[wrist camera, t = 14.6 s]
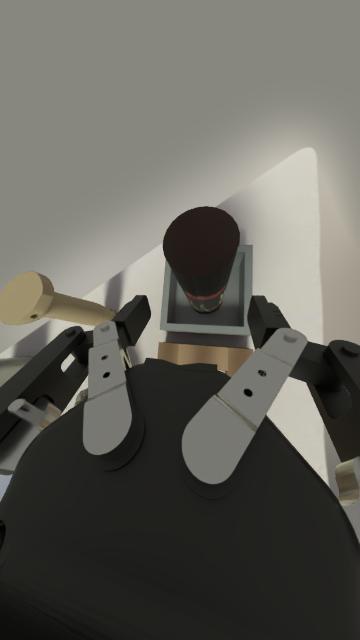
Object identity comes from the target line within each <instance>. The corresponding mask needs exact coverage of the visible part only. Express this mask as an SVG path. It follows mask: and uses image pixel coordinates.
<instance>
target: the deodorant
mask: <svg viewBox="0 0 360 640" xmlns="http://www.w3.org/2000/svg"><path fill="white" fill-rule="evenodd" d="M239 241H240V232H239V229H238V225H237V223H236V222H235V220H234V219H233V218H232V216H230V215H229V214H228V213H227V212H225V211H223V210H221V209H218V208H215V207H207V206H206V207H197V208H194V209H191V210H188V211H186V212H184V213H183V214H181V215H179V216H178V217H177V218H176V219H175V220H174V221H173V222H172V223H171V225H170V226H169V228H168V229H167V231H166V234H165V236H164V240H163V251H164V256H165V258H166V260H167V262H168V264H169V266H170V268H171V269H172V271H173V273H174V275H175V277H176V279H177V281H178V283H179V284H180V286H181V288H182V290H183V292H184V294H185V296H186V298H187V300H188V301H189V303H190V305H191V307H192V308H193V309H194V310H195V311H196V312H198V313H201V314H210V313H213V312H215V311H216V310H217V309H219V307H220V306H221V304H222V302H223V298H224V295H225V291H226V288H227V284H228V281H229V277H230V274H231V270H232V267H233V263H234V260H235V256H236V253H237V250H238V246H239Z"/></svg>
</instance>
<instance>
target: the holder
mask: <svg viewBox="0 0 360 640" xmlns="http://www.w3.org/2000/svg"><path fill="white" fill-rule="evenodd" d="M252 353H253V349H248V348H235V347H222V346H209V345H195V344H182V343H169V342H159V348H158V359H163V360H166V361H169V362H172V363H174V364H177V365H184V364H192V363H207V364H217V370H222V371H225V374H227V375H229V376H230V377H233V375H234V374H235V373H236V372H237V371H238V370H239V368H240V367H241V366H242V365H243V364H244V363H245V362H246V360H247V359H248V358H249V357H250V356H251V355H252Z"/></svg>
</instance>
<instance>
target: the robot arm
mask: <svg viewBox="0 0 360 640" xmlns="http://www.w3.org/2000/svg"><path fill="white" fill-rule="evenodd" d="M150 317H151V310H150V306H149V302H148V298H147V296H146V295H136V296H135V297H134V299H133V300H132V301H130V302H128V303H127V304H125V306H124V307H123V308H122V309H121V310H120V312H118V313H117V314H116V316H115V317H114V318H113V319H112V320H111V321H105V322H102V323H100V324H98V325H97V326H96V327H95V328H94V330H91V331H86V332H84V330H83V329H82V327H80V326H74V327H70V328H68V329H66V330H64V331H63V332H61V333H60V334H59V335H58V336H57V337H56V338H55V339H54V340H53V341H51V342H50V343H49V344H48V345H47V346H46V347H45V348H44V349H42V350H41V351H40V352H39V353H38V354H37V355H36V356H35V357H33V358H32V357H18V358H7V359H0V474H1V475H11V474H13V476H12V478H11V480H10V483H9V485H8V487H7V489H6V492H5V494H4V496H3V498H2V500H1V502H0V640H360V346H359V345H357V344H355V343H352V342H348V341H344V340H334V341H331V342H330V343H329V345H328V346H324V345H321V344H316V343H312V342H309V341H308V340H307V338H306V336H305V335H303V334H302V333H301V332H299V331H297V330H294V329H291V327H290V326H289V324H288V322H287V321H286V319H285V318H284V316H283V314H282V313H281V311H280V309H279V308H278V307H277V306H276V305H275V304H273V303H268V302H267V300H266V298H265V296H252V297H251V300H250V305H249V309H248V314H247V322H248V326H249V329H250V333H251V336H252V340H253V344H254V347H255V351H254V352H253V353H252V355H251V356H250V357H249V358H248V359H247V360H246V362H245V363H244V364H243V365H242V366H241V367H240V368H239V370H238V371H237V372H236V373H235V374H234V375H233V377H230V376H229V375H227V374H225V373H223V372H221V371H218V370H217V364H207V363H192V364H184V365H177V364H174V363H172V362H169V361H166V360H163V359H153V358H146V360H145V362H144V363H143V364H139V365H136V366H133V367H132V365H131V361H130V357H129V354H128V351H127V347H128V346H135V344H136V343H137V341H138V339H139V337H140V335H141V334H142V332H143V330H144V328H145V327H146V325H147V323H148V321H149V320H150ZM70 353H71V354H72V355H73V356H74V358H75V360H74V361H73V362H72V363H71V365H70V366H69V367H68V368H67V369H66V371H65V372H63V371H62V370H61V364H62V362H63V361H64V360H65V359H66V358H67V357H68V356H69V354H70ZM88 374H89V375H88ZM87 376H88V397H87V398H86V399H85V400H83V401H82V402H80V403H79V404H77V405H76V406H75V407H73V408H72V409H70V410H69V411H68V412H66V413H65V414H63V415H62V416H61V414H62V412H63V411H64V409H65V408H66V406H67V405H68V403H69V402H70V401H71V399H72V398H73V396H74V395H75V393H76V392H77V390H78V389H79V387H80V386H81V384H82V383H83V381H84V380H85V379H86V377H87ZM288 376H289V377H292V378H295V379H298V380H301V381H304V382H306V383H307V386H308V388H309V390H310V392H311V395H312V397H313V399H314V402H315V404H316V406H317V408H318V411H319V413H320V415H321V417H322V420H323V422H324V424H325V426H326V429H327V431H328V433H329V435H330V438H331V440H332V442H333V444H334V447H335V449H336V451H337V454H338V456H339V458H340V460H341V463H340V464H339V465H338V466H337V467H336V470H335V478H336V482H337V485H338V490H339V498H338V499H337V498H336V496H335V495H334V493H333V492H332V491H331V489H330V488H329V487H328V485H327V484H326V483H325V482H324V481H323V480H322V478H321V477H320V476H319V475H318V474H317V473H316V471H315V470H314V469H313V468H312V467H311V466H310V465H309V463H308V462H307V461H306V460H305V459H304V458H303V457H302V455H301V454H300V453H299V452H298V451H297V450H296V449H295V447H294V446H293V445H292V444H291V443H290V442H289V441H288V439H287V438H286V437H285V436H284V435H283V434H282V433H281V431H280V430H279V429H278V428H277V427H276V426H275V424H274V423H273V422H272V421H271V420H270V419H269V418H268V416H267V415H266V413H267V412H268V410H269V408H270V407H271V405H272V403H273V401H274V400H275V398H276V396H277V394H278V393H279V391H280V389H281V388H282V386H283V384H284V382H285V381H286V379H287V377H288ZM346 389H347V390H346ZM348 392H349V393H348Z"/></svg>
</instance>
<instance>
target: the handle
mask: <svg viewBox="0 0 360 640" xmlns="http://www.w3.org/2000/svg"><path fill="white" fill-rule="evenodd" d="M115 316H116V315H115V312H114V311H113V310H111V309H110V310H109V309H108V308H106V307H104V306H102V305H100V304H97V303H94V302H91V301H87V300H82V299H78V298H74V297H71V296H66V295H63V294H59V293H56V292H54V288H53V285H52V283H51V281H50V280H49V279H48V278H47V277H46V276H44V275H41V274H39V273H36V272H34V271H29V272H26V273H22V274H20V275H18V276H17V277H15V278H14V279H13V280H12V281H11V282H9V283H8V284H7V285H6V286H5V288H4V289H3V291H2V292H1V294H0V321H1V322H2V323H4V324H9V325H22V324H27V323H31V322H33V321H36V320H39V319H40V318H42V317H49V318H54V319H60V320H65V321H70V322H74V323H79V324H84V325H92V326H97V325H98V324H100V323H102V322H105V321H111V320H112V319H113V318H114V317H115Z"/></svg>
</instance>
